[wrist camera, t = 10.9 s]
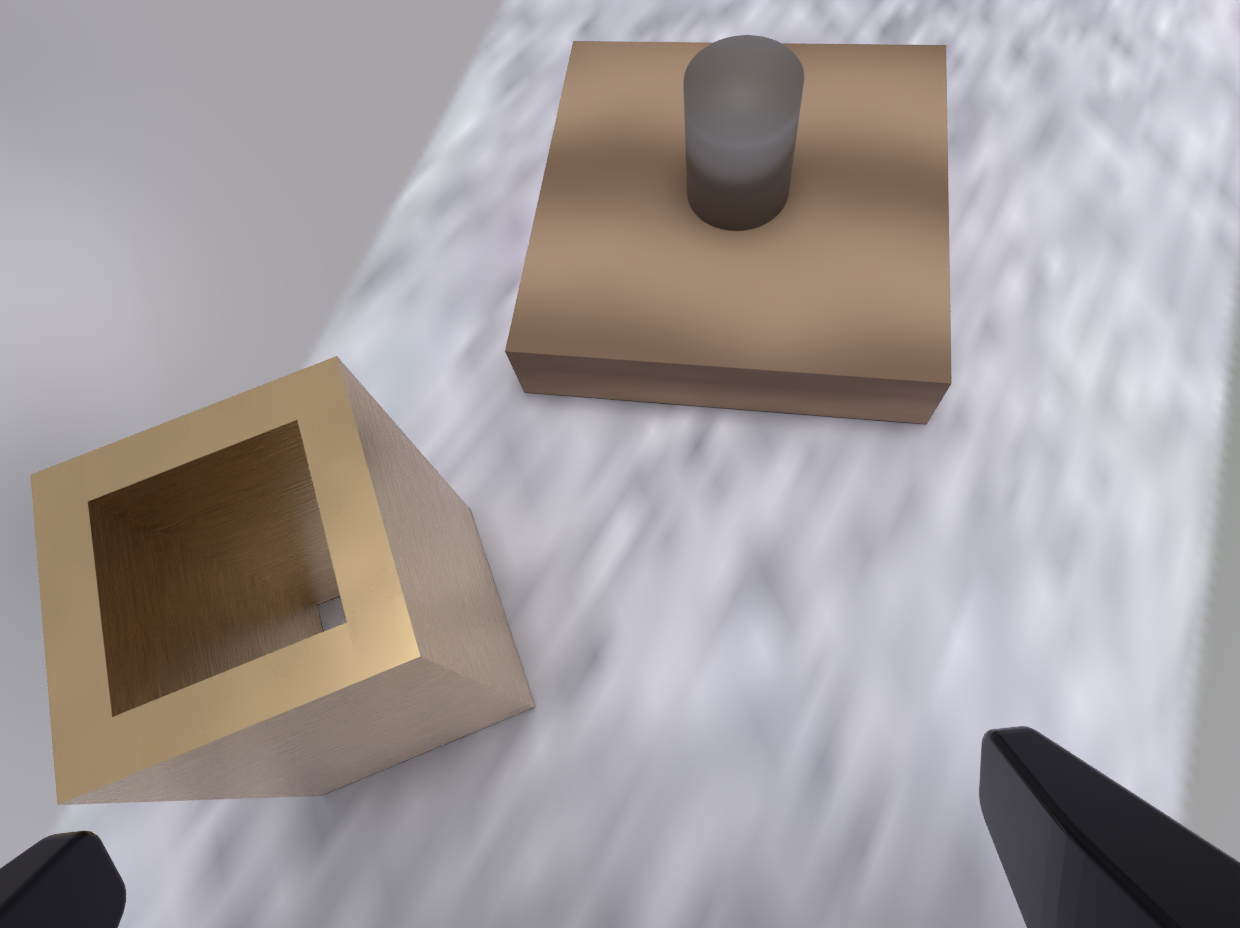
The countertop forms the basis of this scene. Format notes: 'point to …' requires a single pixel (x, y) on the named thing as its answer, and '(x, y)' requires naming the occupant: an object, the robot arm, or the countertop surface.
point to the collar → (262, 602)
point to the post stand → (744, 230)
